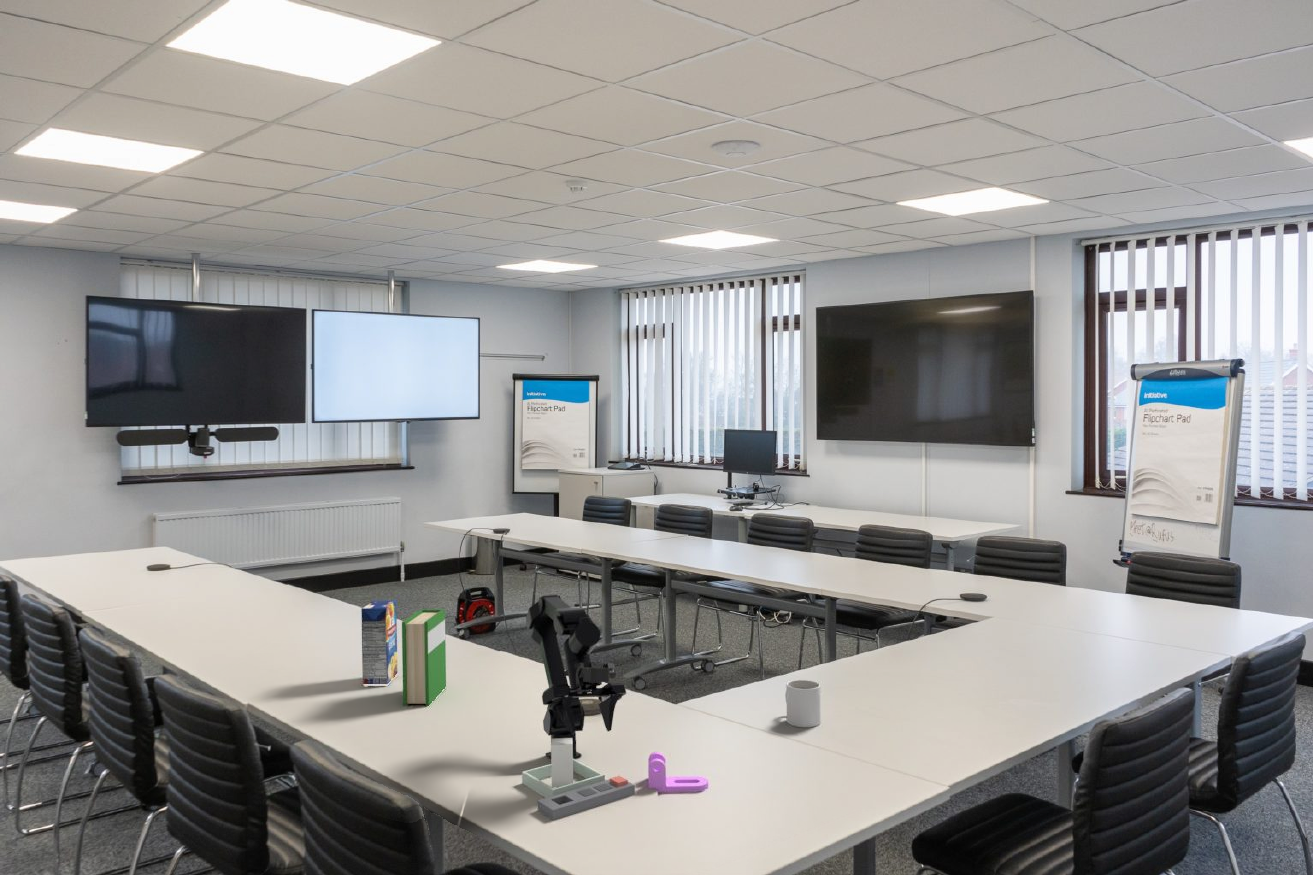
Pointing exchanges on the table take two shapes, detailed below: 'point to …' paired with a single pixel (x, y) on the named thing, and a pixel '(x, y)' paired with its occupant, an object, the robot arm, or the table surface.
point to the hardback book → (423, 656)
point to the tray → (533, 781)
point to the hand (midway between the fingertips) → (591, 731)
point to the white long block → (562, 761)
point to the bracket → (671, 784)
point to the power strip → (586, 797)
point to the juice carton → (379, 642)
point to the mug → (803, 703)
